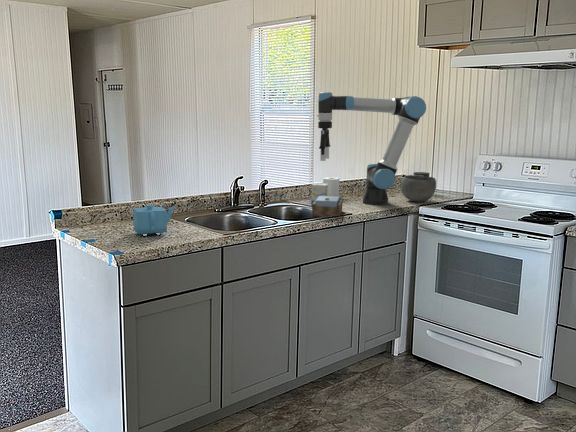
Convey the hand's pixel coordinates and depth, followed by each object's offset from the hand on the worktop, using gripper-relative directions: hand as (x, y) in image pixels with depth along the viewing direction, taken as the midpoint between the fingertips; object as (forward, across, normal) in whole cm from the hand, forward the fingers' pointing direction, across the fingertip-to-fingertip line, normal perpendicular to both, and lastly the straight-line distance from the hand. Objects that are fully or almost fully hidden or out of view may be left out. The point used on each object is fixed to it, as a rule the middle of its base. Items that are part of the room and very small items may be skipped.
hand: (324, 159), depth 314 cm
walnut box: (+26, +21, +5) cm, 34 cm away
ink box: (+27, -8, -4) cm, 28 cm away
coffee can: (+28, -66, +54) cm, 90 cm away
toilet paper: (+27, -34, -1) cm, 44 cm away
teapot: (+25, +90, -60) cm, 111 cm away
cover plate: (+22, +21, +5) cm, 30 cm away
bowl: (+28, -35, +52) cm, 68 cm away
